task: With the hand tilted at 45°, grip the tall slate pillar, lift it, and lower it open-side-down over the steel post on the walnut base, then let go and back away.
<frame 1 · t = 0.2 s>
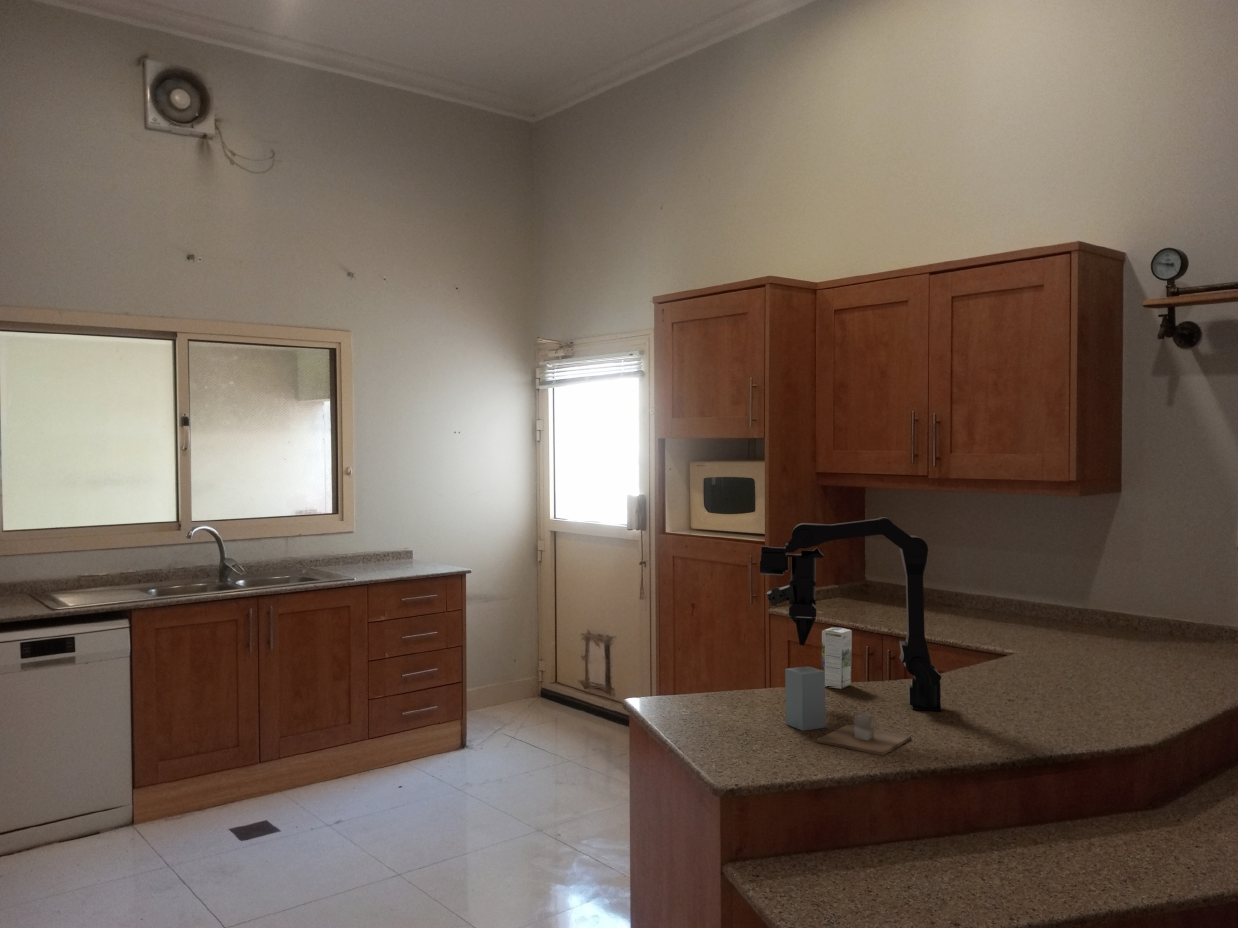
hand: (802, 641, 220), 14 cm above the counter, tool pointing down, fingers open, 9 cm apart
tall slate pillar: (805, 725, 200), on the counter
post base: (864, 740, 189), on the counter
syrup box: (836, 686, 236), on the counter
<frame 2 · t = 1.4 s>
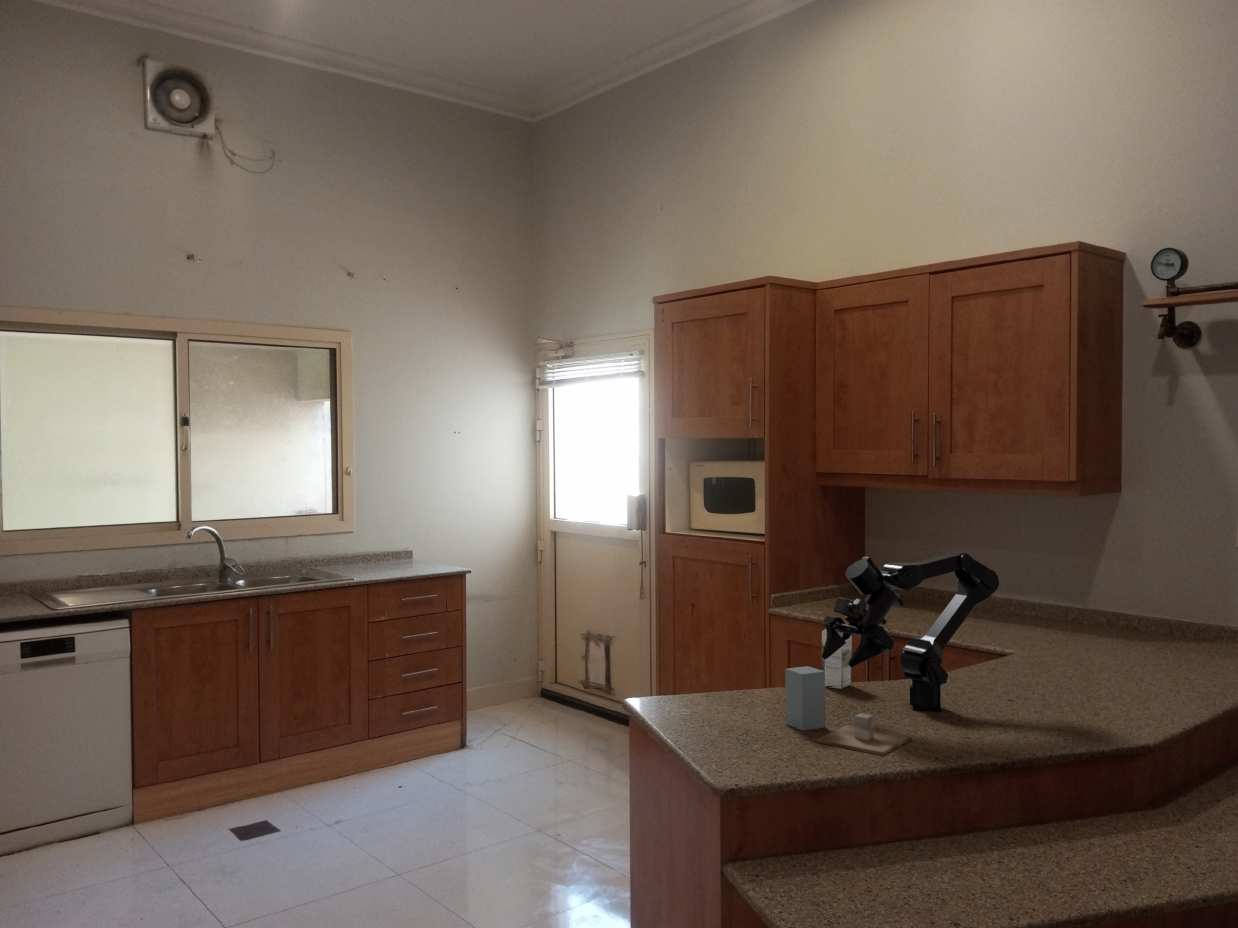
hand: (836, 661, 204), 13 cm above the counter, tool tilted 45°, fingers open, 9 cm apart
nothing on the counter moved.
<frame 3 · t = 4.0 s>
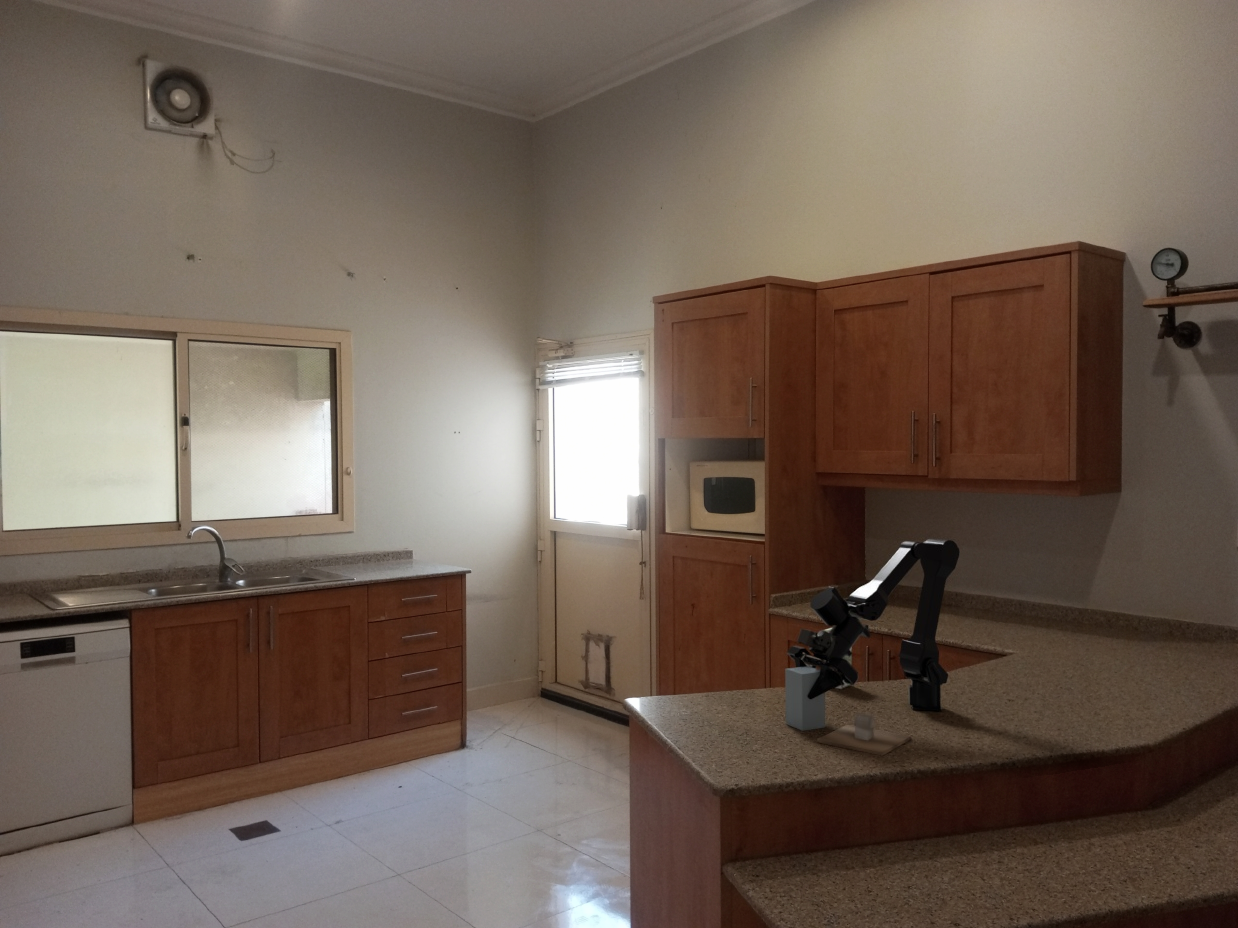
hand: (799, 694, 199), 7 cm above the counter, tool tilted 45°, fingers closed on tall slate pillar, 6 cm apart
tall slate pillar: (805, 725, 200), on the counter, touching gripper
everything else where it was.
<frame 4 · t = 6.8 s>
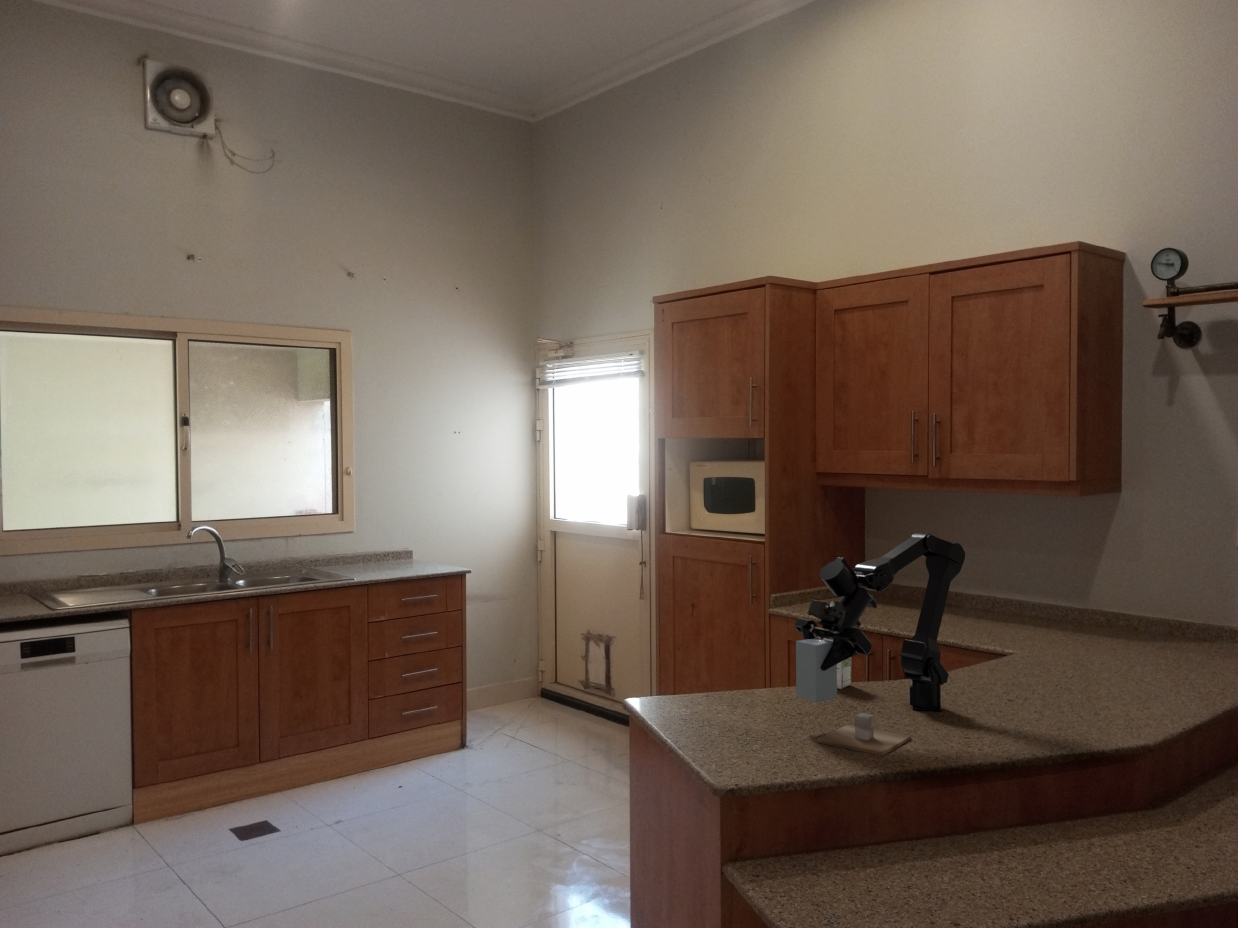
hand: (811, 666, 196), 14 cm above the counter, tool tilted 45°, fingers closed on tall slate pillar, 6 cm apart
tall slate pillar: (816, 697, 197), point 7 cm above the counter, touching gripper
everything else where it was.
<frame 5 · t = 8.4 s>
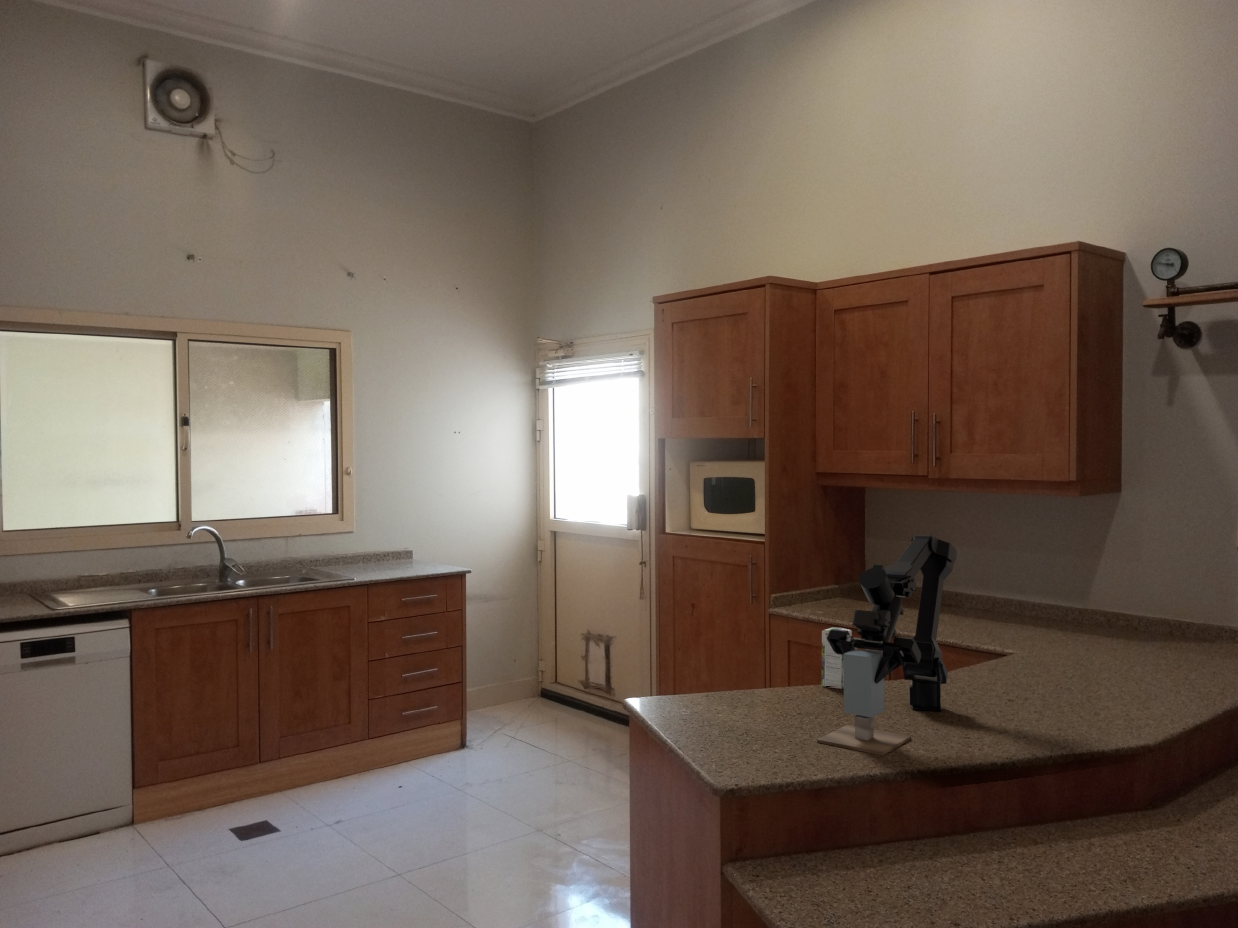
hand: (860, 679, 188), 13 cm above the counter, tool tilted 45°, fingers closed on tall slate pillar, 6 cm apart
tall slate pillar: (864, 711, 189), point 6 cm above the counter, touching gripper
everything else where it was.
when the fingers open (8 cm above the counter, at t = 9.7 s): tall slate pillar stays where it is, resting on post base.
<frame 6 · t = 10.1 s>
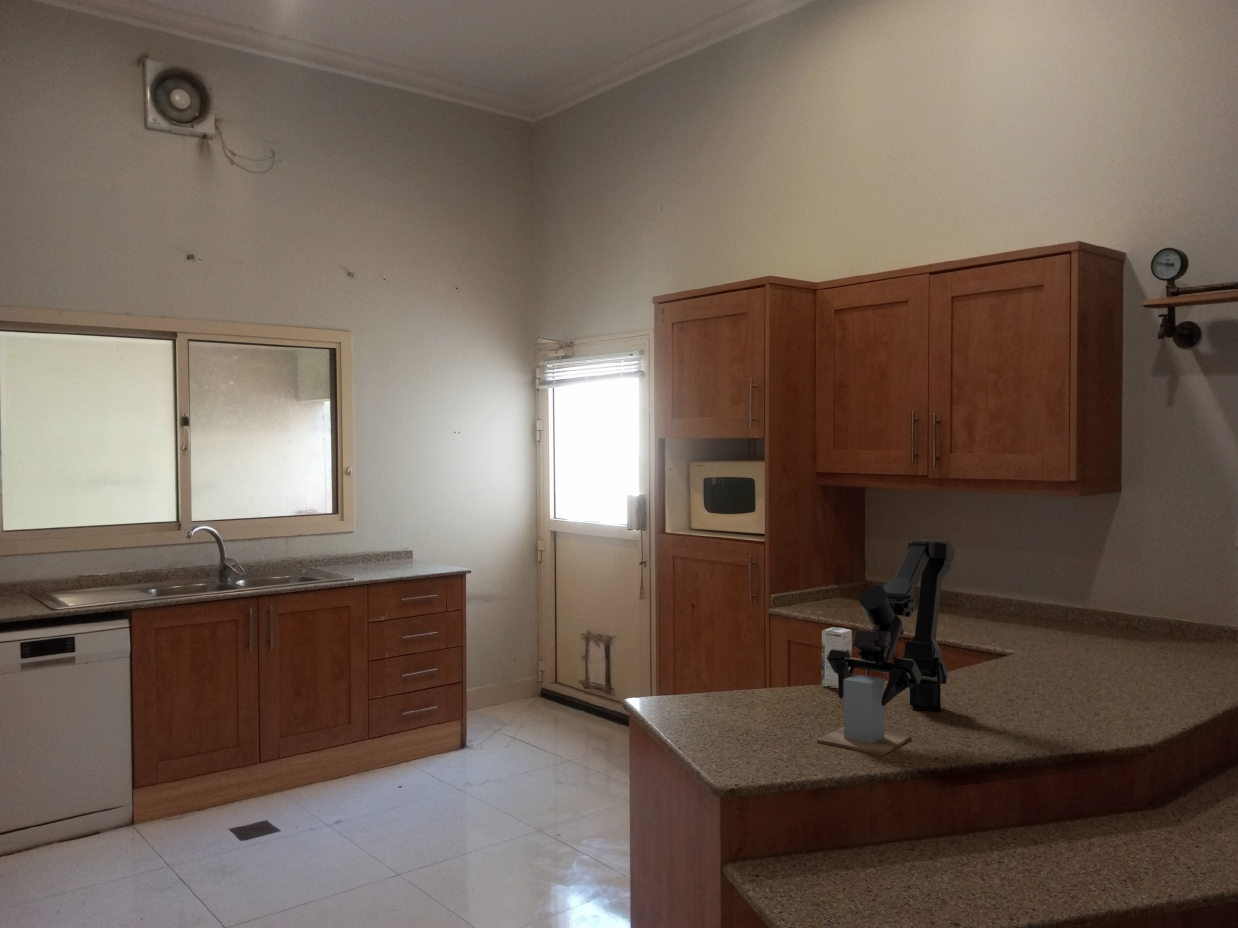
hand: (860, 700, 188), 8 cm above the counter, tool tilted 45°, fingers open, 9 cm apart
tall slate pillar: (864, 737, 189), point 1 cm above the counter, touching post base
everything else where it was.
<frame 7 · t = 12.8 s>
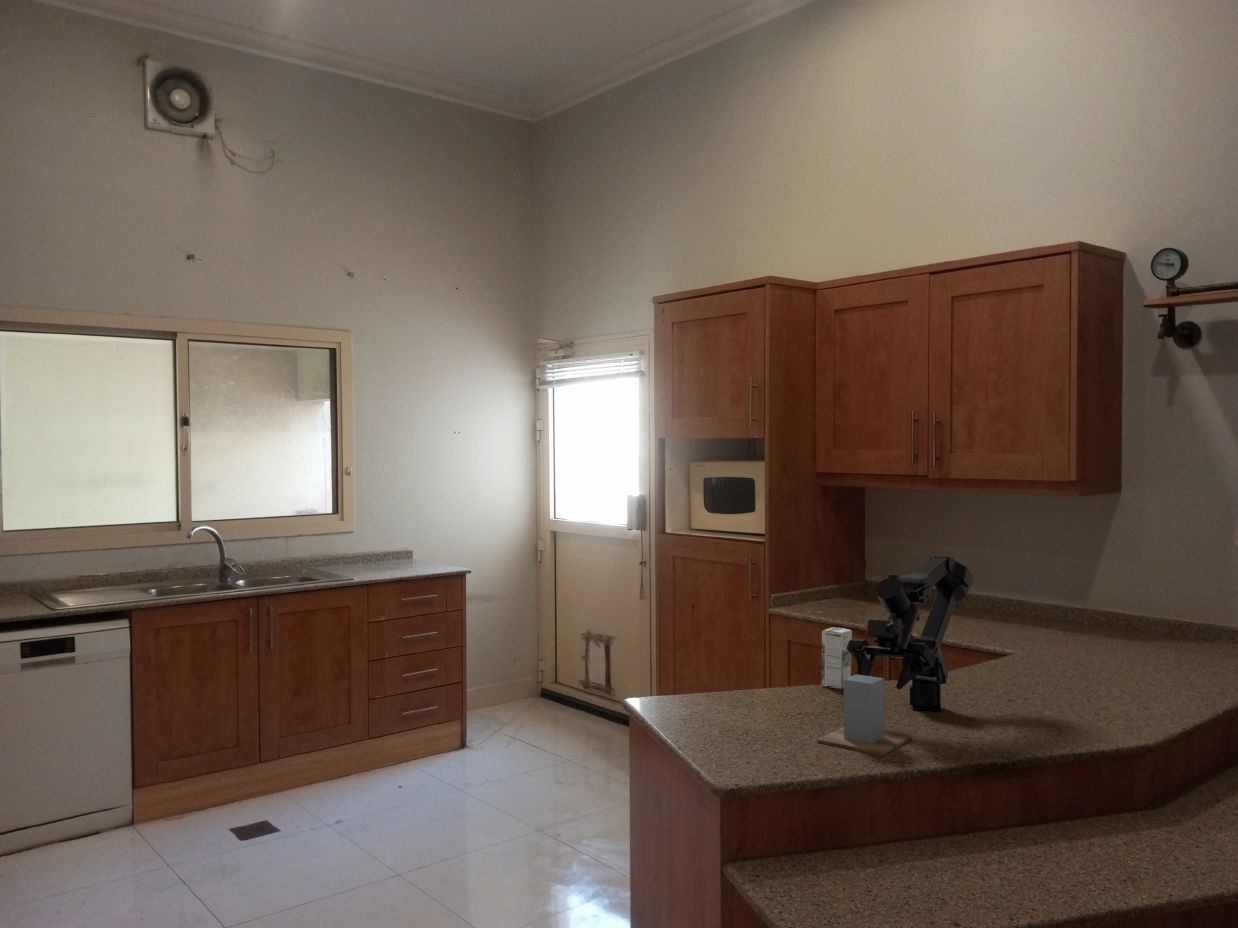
hand: (878, 686, 196), 9 cm above the counter, tool tilted 40°, fingers open, 9 cm apart
nothing on the counter moved.
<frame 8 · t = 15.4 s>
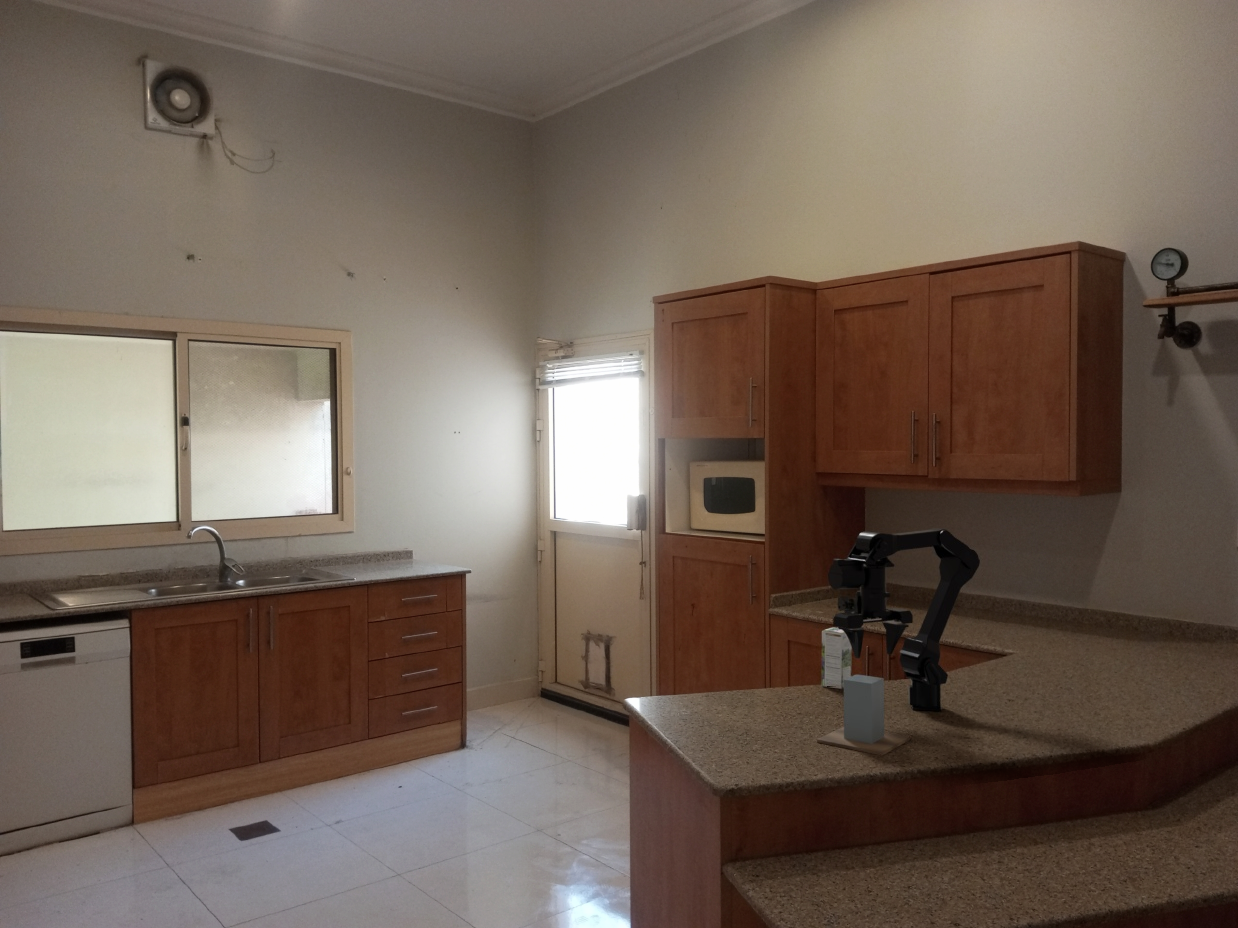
hand: (873, 656, 209), 13 cm above the counter, tool pointing down, fingers open, 9 cm apart
nothing on the counter moved.
at the end: tall slate pillar 0.0 cm from the post base (horizontally); tall slate pillar point 0.6 cm above the counter; tall slate pillar tilted 0° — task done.
